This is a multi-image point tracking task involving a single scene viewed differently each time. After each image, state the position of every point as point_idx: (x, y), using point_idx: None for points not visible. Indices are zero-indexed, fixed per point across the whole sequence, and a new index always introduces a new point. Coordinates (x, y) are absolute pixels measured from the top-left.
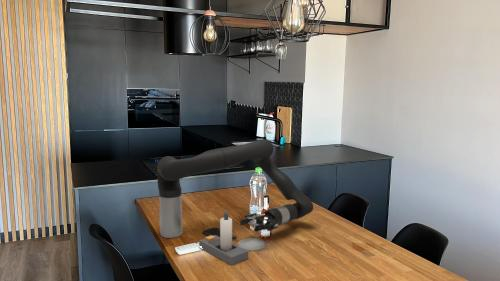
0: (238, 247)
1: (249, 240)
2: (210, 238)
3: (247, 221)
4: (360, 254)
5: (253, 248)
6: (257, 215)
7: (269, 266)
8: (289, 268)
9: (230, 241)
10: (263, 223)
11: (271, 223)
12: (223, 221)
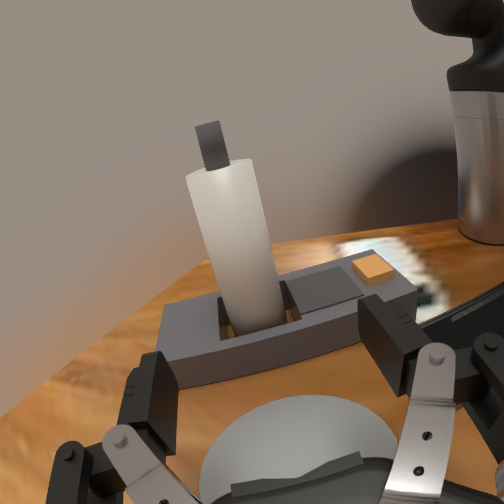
0: (215, 344)
1: None
2: (357, 265)
3: (394, 371)
4: None
5: (225, 449)
6: (443, 471)
7: (68, 416)
8: (12, 449)
9: (218, 285)
10: (131, 437)
11: (63, 501)
12: (205, 168)
